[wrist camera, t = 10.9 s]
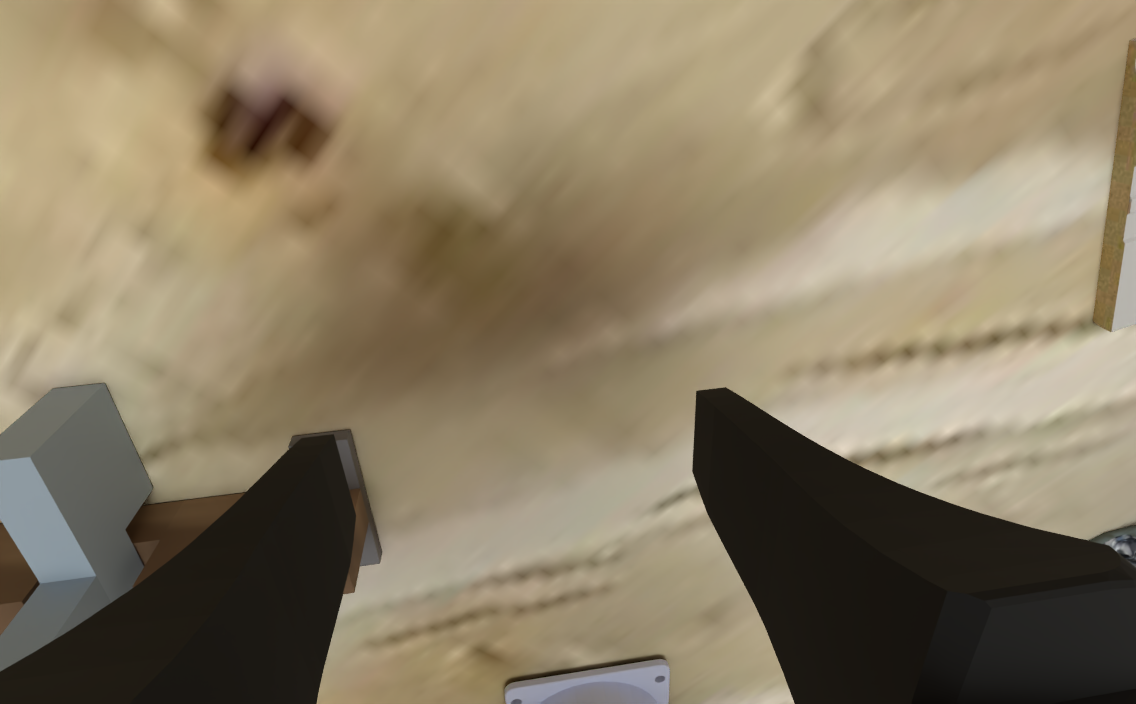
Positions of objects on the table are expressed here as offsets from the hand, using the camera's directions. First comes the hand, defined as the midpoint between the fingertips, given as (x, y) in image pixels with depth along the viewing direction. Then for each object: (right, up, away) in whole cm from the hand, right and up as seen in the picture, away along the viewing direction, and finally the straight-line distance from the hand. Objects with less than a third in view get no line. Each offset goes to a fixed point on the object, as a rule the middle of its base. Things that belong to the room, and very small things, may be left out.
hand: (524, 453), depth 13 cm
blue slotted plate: (-15, -4, +11) cm, 19 cm away
